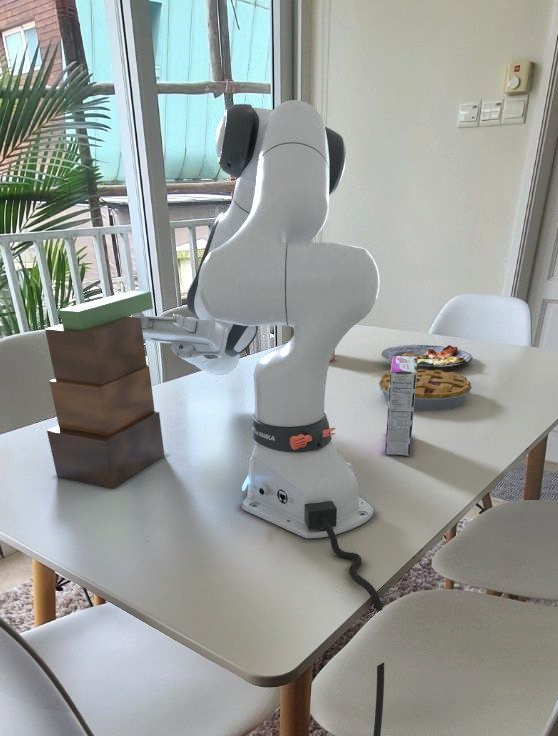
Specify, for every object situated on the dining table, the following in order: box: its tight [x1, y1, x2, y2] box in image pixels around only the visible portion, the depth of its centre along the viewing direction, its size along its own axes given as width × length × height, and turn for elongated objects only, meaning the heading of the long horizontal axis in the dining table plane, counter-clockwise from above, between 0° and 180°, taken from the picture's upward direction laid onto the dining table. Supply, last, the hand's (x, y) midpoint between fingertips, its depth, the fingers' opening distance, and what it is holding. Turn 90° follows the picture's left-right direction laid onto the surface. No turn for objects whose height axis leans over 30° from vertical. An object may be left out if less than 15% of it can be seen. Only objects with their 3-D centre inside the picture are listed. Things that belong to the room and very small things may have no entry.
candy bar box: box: [384, 356, 418, 457], centre depth 119 cm, size 11×5×16 cm, turn 168°
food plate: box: [380, 344, 473, 369], centre depth 175 cm, size 25×23×4 cm
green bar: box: [59, 290, 154, 331], centre depth 108 cm, size 20×4×3 cm, turn 155°
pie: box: [377, 368, 473, 411], centre depth 148 cm, size 22×22×5 cm
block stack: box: [44, 316, 165, 489], centre depth 111 cm, size 16×13×26 cm
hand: (155, 316), depth 120 cm, fingers open, 8 cm apart
